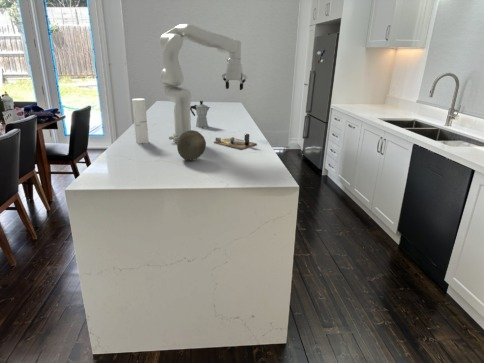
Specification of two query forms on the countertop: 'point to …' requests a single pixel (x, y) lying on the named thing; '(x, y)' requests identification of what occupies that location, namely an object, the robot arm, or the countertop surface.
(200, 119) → the coffee maker
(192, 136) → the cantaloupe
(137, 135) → the cylindrical container
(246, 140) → the swing bar
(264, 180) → the countertop surface
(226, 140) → the plate
